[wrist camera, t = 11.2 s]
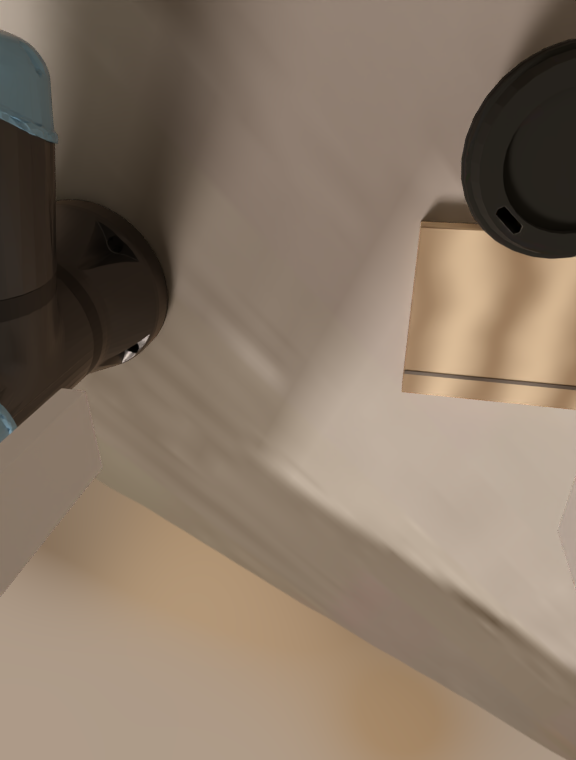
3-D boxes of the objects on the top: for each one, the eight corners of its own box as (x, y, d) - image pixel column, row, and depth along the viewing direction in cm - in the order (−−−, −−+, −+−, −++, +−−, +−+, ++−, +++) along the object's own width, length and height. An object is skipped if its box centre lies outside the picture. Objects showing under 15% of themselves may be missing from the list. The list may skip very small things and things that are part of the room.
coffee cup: (636, 128, 36) (756, 160, 23) (508, 233, 41) (548, 308, 28) (543, 8, 34) (617, -29, 21) (419, 133, 39) (419, 165, 26)
